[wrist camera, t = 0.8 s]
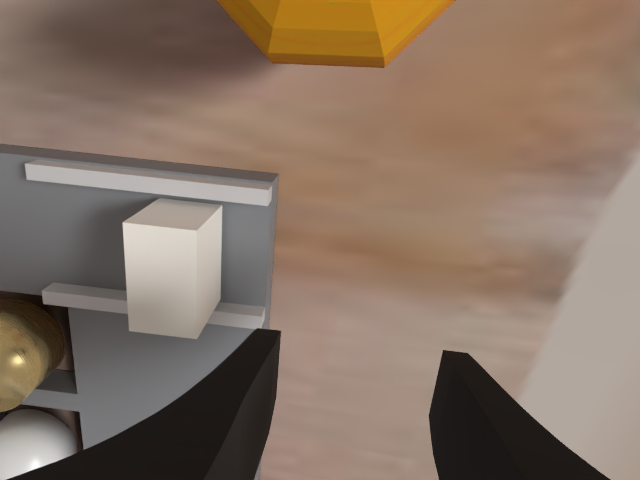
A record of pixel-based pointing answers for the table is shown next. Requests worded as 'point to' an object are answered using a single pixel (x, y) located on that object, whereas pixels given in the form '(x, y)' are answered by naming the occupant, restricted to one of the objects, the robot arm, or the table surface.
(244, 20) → the carrot
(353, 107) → the table surface
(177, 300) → the white block
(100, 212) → the control panel
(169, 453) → the robot arm
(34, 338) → the brass button
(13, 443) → the white button
